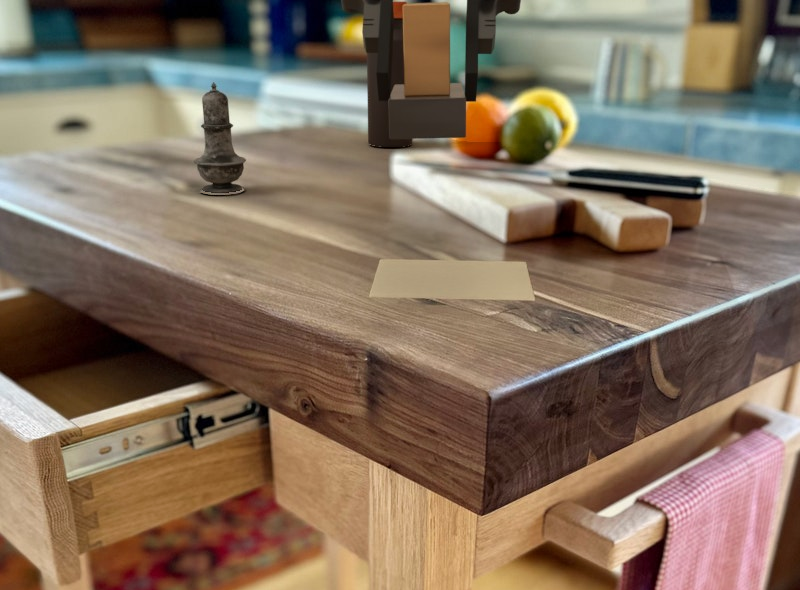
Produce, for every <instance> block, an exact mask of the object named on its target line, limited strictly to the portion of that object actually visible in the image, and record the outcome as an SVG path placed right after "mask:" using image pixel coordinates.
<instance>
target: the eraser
mask: <svg viewBox="0 0 800 590" xmlns="http://www.w3.org/2000/svg"><path fill="white" fill-rule="evenodd" d="M403 49H404V84H399V85H394V87H393V90H392V92H391V95H390V97H389V100H388V105H389V138H390V139H413V140H418V139H420V140H421V139H425V140H426V139H463V138H464V139H465V138H466V137H467V102H466V96H465V89H464V88H463V85H462V83H461V82H451V4H450V3H449V2H445V1H443V2H442V1H441V2H411V3H408V2H407V4H404V5H403Z"/></svg>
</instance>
